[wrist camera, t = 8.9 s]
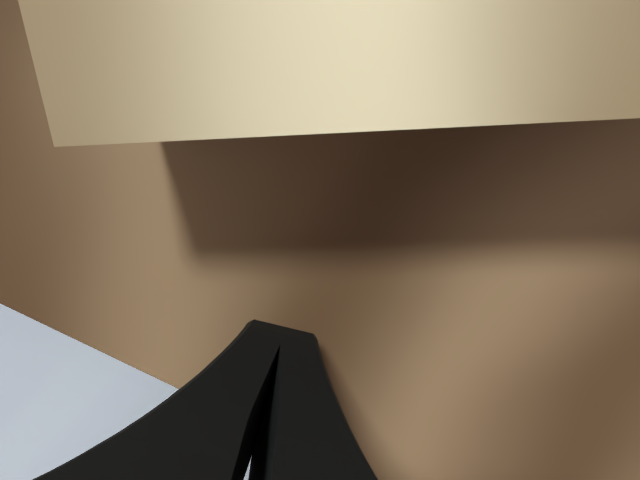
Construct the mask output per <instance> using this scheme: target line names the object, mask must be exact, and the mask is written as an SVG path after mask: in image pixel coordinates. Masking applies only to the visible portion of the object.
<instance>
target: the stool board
mask: <svg viewBox="0 0 640 480" xmlns="http://www.w3.org/2000/svg"><path fill="white" fill-rule="evenodd" d="M0 303H1V304H3V305H5V306H7V307H9V308H11V309H13V310H15V311H17V312H20V313H22V314H24V315H26V316H28V317H30V318H32V319H34V320H36V321H38V322H40V323H42V324H45V325H47V326H49V327H51V328H53V329H55V330H57V331H59V332H61V333H63V334H65V335H68V336H70V337H72V338H74V339H76V340H78V341H80V342H82V343H84V344H86V345H88V346H90V347H93V348H95V349H97V350H99V351H101V352H103V353H105V354H107V355H109V356H111V357H113V358H116V359H118V360H120V361H122V362H124V363H126V364H128V365H130V366H132V367H134V368H136V369H138V370H141V371H143V372H145V373H147V374H149V375H151V376H153V377H155V378H157V379H159V380H161V381H164V382H166V383H168V384H170V385H172V386H174V387H176V388H178V389H180V388H181V387H183V386H184V385H185V384H186V383H188V382H189V381H190V380H191V379H193V378H194V377H195V376H196V375H197V374H199V373H200V372H201V371H202V370H203V369H204V368H205V367H206V366H207V365H208V364H209V363H211V362H212V361H213V360H214V359H215V358H216V357H217V356H218V355H219V354H220V353H221V352H222V351H223V350H224V349H225V348H226V347H227V346H228V345H229V344H230V343H231V342H232V341H233V340H234V339H235V338H236V337H237V336H238V334H239V333H240V332H241V331H242V330H243V328H244V327H245V326H246V324H247V323H248V322H250V321H252V320H254V319H255V320H259V321H263V322H267V323H272V324H276V325H280V326H284V327H288V328H292V329H296V330H301V331H305V332H309V333H313V334H314V335H315V337H316V338H317V340H318V344H319V348H320V352H321V356H322V359H323V362H324V365H325V368H326V371H327V374H328V377H329V380H330V382H331V385H332V387H333V390H334V392H335V395H336V397H337V399H338V402H339V404H340V407H341V409H342V411H343V414H344V416H345V418H346V420H347V422H348V424H349V427H350V429H351V431H352V433H353V435H354V437H355V439H356V441H357V443H358V445H359V447H360V448H361V450H362V452H363V454H364V456H365V458H366V460H367V461H368V463H369V465H370V467H371V468H372V470H373V472H374V474H375V475H376V477H377V479H378V480H640V118H633V119H613V120H593V121H572V122H552V123H531V124H511V125H491V126H470V127H450V128H429V129H409V130H389V131H368V132H348V133H328V134H307V135H287V136H266V137H246V138H226V139H205V140H185V141H164V142H144V143H124V144H103V145H83V146H62V147H54V144H53V140H52V136H51V132H50V128H49V124H48V120H47V116H46V112H45V108H44V104H43V100H42V96H41V92H40V88H39V84H38V80H37V75H36V71H35V67H34V63H33V59H32V55H31V51H30V47H29V43H28V39H27V35H26V31H25V27H24V23H23V19H22V15H21V11H20V7H19V3H18V0H0Z"/></svg>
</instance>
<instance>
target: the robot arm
mask: <svg viewBox="0 0 640 480" xmlns="http://www.w3.org/2000/svg"><path fill="white" fill-rule="evenodd" d="M251 456H252V458H251ZM250 459H251V465H250V472H249V480H378V479H377V477H376V475H375V474H374V472H373V470H372V468H371V467H370V465H369V463H368V461H367V460H366V458H365V456H364V454H363V452H362V450H361V448H360V447H359V445H358V443H357V441H356V439H355V437H354V435H353V433H352V431H351V429H350V427H349V424H348V422H347V420H346V418H345V416H344V414H343V411H342V409H341V407H340V404H339V402H338V399H337V397H336V395H335V392H334V390H333V387H332V385H331V382H330V380H329V377H328V374H327V371H326V368H325V365H324V362H323V359H322V356H321V352H320V348H319V344H318V340H317V338H316V337H315V335H314V334H313V333H309V332H305V331H301V330H296V329H292V328H288V327H284V326H280V325H276V324H272V323H267V322H263V321H259V320H255V319H254V320H252V321H250V322H248V323H247V324H246V326H245V327H244V328H243V330H242V331H241V332H240V333H239V334H238V336H237V337H236V338H235V339H234V340H233V341H232V342H231V343H230V344H229V345H228V346H227V347H226V348H225V349H224V350H223V351H222V352H221V353H220V354H219V355H218V356H217V357H216V358H215V359H214V360H213V361H212V362H211V363H209V364H208V365H207V366H206V367H205V368H204V369H203V370H202V371H201V372H200V373H199V374H197V375H196V376H195V377H194V378H193V379H191V380H190V381H189V382H188V383H186V384H185V385H184V386H183V387H181V388H180V389H179V390H178V391H176V392H175V393H174V394H173V395H171V396H170V397H169V398H168V399H166V400H165V401H164V402H162V403H161V404H159V405H158V406H157V407H155V408H154V409H153V410H151V411H150V412H148V413H147V414H145V415H144V416H143V417H141V418H140V419H138V420H137V421H135V422H133V423H132V424H130V425H129V426H127V427H126V428H124V429H123V430H121V431H120V432H118V433H116V434H115V435H113V436H111V437H110V438H108V439H106V440H105V441H103V442H101V443H100V444H98V445H96V446H94V447H93V448H91V449H89V450H88V451H86V452H84V453H83V454H81V455H79V456H77V457H75V458H74V459H72V460H70V461H68V462H66V463H65V464H63V465H61V466H59V467H57V468H55V469H53V470H51V471H49V472H47V473H45V474H43V475H41V476H39V477H37V478H35V479H33V480H243V479H244V476H245V473H246V471H247V468H248V465H249V462H250Z"/></svg>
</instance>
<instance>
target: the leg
mask: <svg viewBox="0 0 640 480" xmlns="http://www.w3.org/2000/svg"><path fill="white" fill-rule="evenodd" d="M18 3H19V7H20V11H21V15H22V19H23V23H24V27H25V31H26V35H27V39H28V43H29V47H30V51H31V55H32V59H33V63H34V67H35V71H36V75H37V80H38V84H39V88H40V92H41V96H42V100H43V104H44V108H45V112H46V116H47V120H48V124H49V128H50V132H51V136H52V140H53V144H54V147H62V146H83V145H103V144H124V143H144V142H164V141H185V140H205V139H226V138H246V137H266V136H287V135H307V134H328V133H348V132H368V131H389V130H409V129H429V128H450V127H470V126H491V125H511V124H531V123H552V122H572V121H593V120H613V119H633V118H640V0H18Z"/></svg>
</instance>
